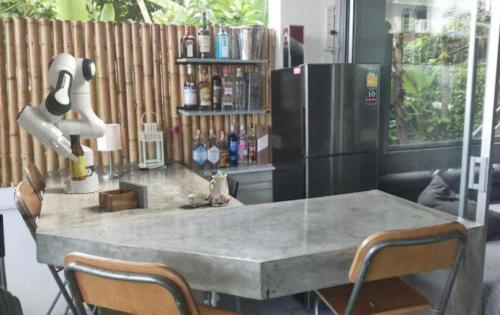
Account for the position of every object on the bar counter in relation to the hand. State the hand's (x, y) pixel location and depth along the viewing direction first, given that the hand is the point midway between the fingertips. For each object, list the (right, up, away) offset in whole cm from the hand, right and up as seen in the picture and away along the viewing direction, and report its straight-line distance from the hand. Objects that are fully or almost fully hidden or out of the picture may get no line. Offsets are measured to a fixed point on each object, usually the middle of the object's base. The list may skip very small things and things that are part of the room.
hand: (78, 160), depth 184 cm
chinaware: (+56, -21, +19) cm, 63 cm away
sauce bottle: (-1, -9, +1) cm, 9 cm away
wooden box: (+13, -22, +14) cm, 29 cm away
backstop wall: (+18, -21, +19) cm, 34 cm away
